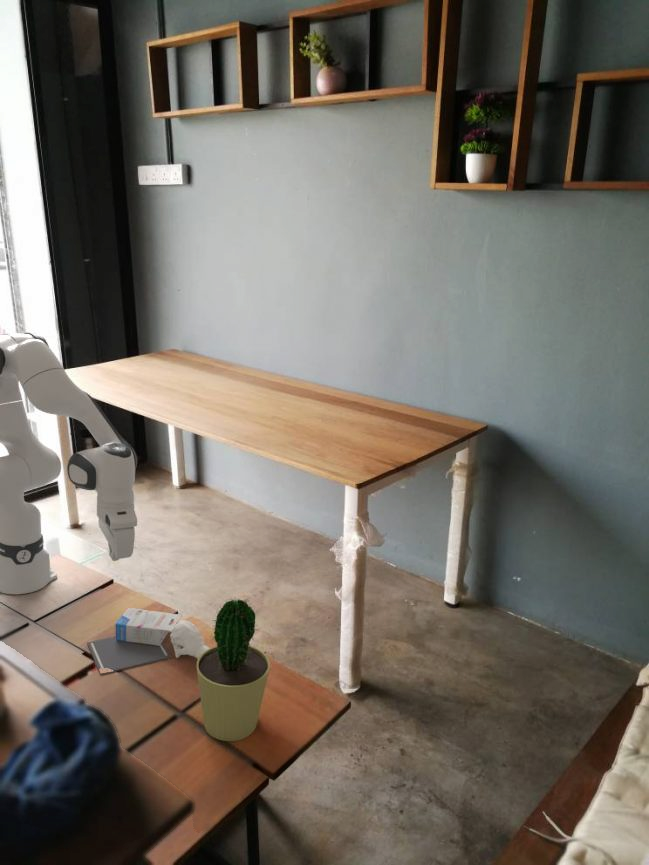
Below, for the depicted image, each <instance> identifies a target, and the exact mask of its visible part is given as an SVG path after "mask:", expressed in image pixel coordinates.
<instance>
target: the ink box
mask: <svg viewBox="0 0 649 865" xmlns="http://www.w3.org/2000/svg"><path fill="white" fill-rule="evenodd" d="M182 616H183V615H182V614H177V613H171V612H164V611H163V612H162V611H155V610H147V609H141V608H140V609H139V608H133V607H132V608H131V607H128V608H127V609H126V610H125V611H124V613H123V614H122V615H121V616H120V618H118V620H117V621H116V622H115V624H114V625H115V628H114V629H115V636H116V640H119V641H127V642H135V643H142V644H150V645H157V646H160V644H161V643H162V642H163V641H164V639H165V638H166V637H167V635H168V634H169V632H172V630H173V628H174V627H175V625H176V624H178V623H179V622H180V621H179V620H180V619H181V618H182Z"/></svg>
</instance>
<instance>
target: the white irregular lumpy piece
mask: <svg viewBox="0 0 649 865" xmlns="http://www.w3.org/2000/svg"><path fill="white" fill-rule="evenodd" d="M169 637H170V643H171V644H172V645H173V650H174V654H175V655H174V656H175V659H179V658H180V657H181V655H182V656H183V655H184V656H185V655H186V656H187V655H188V656H190V657H194V658H196V659H198V658H199V657H200V656H201V654H203V653H204V652H205V651H206V650H208V649H210V648H211V647H209V646H208V645H206V641H205V639H204V638H203V636H202V634H201V632H200V631H199V629H198V628H197V625H196V624H193V623H192V622H191V621H189V620H184V619H183V620H180V621H178V622H177V624H176V625H175V627H174V628H173V630H172V631H171V634H170V635H169ZM195 663H196V664H197V661H196V662H195Z"/></svg>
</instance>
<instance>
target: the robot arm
mask: <svg viewBox="0 0 649 865" xmlns="http://www.w3.org/2000/svg"><path fill="white" fill-rule="evenodd" d="M19 383H20V385H19ZM20 386H21V388H22V390H23V391H24V393H25V396H26V397H27V399H28V400H29V402H30V403H31V405H32V406H33V407H34V408H36V409H37V410H39V411H41V412H43V413H46V414H48V415H49V414H50V415H56V416H57V415H58V416H63V417H67V418H71V419H73V420H74V419H75V420H77V421H78V422H81V423H82V424H83V425H84V426H85V428H86V429H87V430H88V431H89V433H90V434H91V435H92V437H93V438H94V440H95V441H96V442H97V444H98V445H99V446H98V447H94V448H93V447H91V448H88V449H87V448H86V449H84V450H80V451H77V452H76V453H73V454H72V455H71V456H70V458H69V459H68V462H67V466H66V467H67V470H66V472H67V476H68V479H69V481H70V482H71V483H72V485H74V486H75V487H76V488H78V489H80V490H81V489H82V490H86V491H95V493H97V494H96V516H97V518H98V527H99V528H100V530H101V533H102V534H103V536H104V538H105V540H106V541H107V546H108V550H109V551H108V554H109V557H110V558H111V560H112V562H116V561H119V560H120V559H127V558H131V557H132V555H133V554H134V547H135V537H136V531H135V527H137V526H138V518H137V515H136V511H135V494H134V484H135V481H136V479H135V478H136V469H137V466H138V465H137V464H138V457H137V452H136V451H135V449H134V448H133V446H132V445H131V444H129V443H128V441H126V440H125V438H123V437H122V436H121V434H120V433H119V432H118V430H117V429H116V427H115V426H114V425H113V423H112V422H111V420H110V419H109V417H107V415H106V414H105V412H104V411H103V409H102V408H101V407H100V405H98V403H97V402H96V400H95V399H94V398H93V397H92V396H91V395H90V393H88V392H86V391H84V390H83V389H81V388H80V387H78V385H76V383H74V381H73V380H72V379H71V378H70V377H69V375H68V374H67V372H66V370H65V369H64V366H63V365H62V363H61V362H60V360H59V359H58V357H57V356H56V355H55V353H54V352H53V350H52V349H51V348H50V346H49V344H48V342H47V340H46V339H45V338H44V336H42V335H41V334H38V333H35V332H33V333H32V332H23V333H18V332H17V333H16V332H15V333H14V332H13V333H2V334H0V444H2V445H3V446H4V448H5V449H6V450H7V453H8V455H4V456H0V593H2V594H6V595H7V594H8V595H23V594H29V593H33V592H34V593H35V592H36V591H40V590H41V589H43V588H45V587H46V586H47V585H48V584H49V583H50V582H52V581H54V580H56V579H57V577H58V575H57V573H56V571H54V570H53V568H51V562H50V560H51V559H50V553H49V552H48V551H47V550H46V549H44V543H45V542H44V536H43V534H42V521H41V520H42V514H41V511H40V509H39V508H38V507H37V506H36V505H35V504H33V503H30V502H28V501H25V497H24V496H25V495H24V494H25V493H26V492H28V491H32V490H34V489H37V488H41V487H44V486H46V485H48V484H50V483H52V482H53V481H54V480H56V479H58V478H59V476H60V475H61V471H62V461H61V458H60V457H59V455H58V453H57V452H55V451H54V450H53V449H51V448H49V447H48V446H46V445H45V444H43V443H42V442H41V441H40V440H39V439H38V437H37V436H36V435H35V433H34V432H33V430H32V428H31V425H30V423H29V419H28V416H27V413H26V409H25V408H26V407H25V404H24V401H23V396H22V393H21V388H20Z"/></svg>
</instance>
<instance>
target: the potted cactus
mask: <svg viewBox="0 0 649 865" xmlns="http://www.w3.org/2000/svg"><path fill="white" fill-rule="evenodd" d="M247 601H248V600H247V599H244V600H243V599H242V600H241V597H239V598H238V599H237V598H232V597H230V598H229V600H227V601H225V602H223V603H224V604H222V606H221V605H220V604H218V605H219V607H220V609H219V608H218V607H217V606H216V605H215V606H216V608H217V611H218V612H217V613H216V614H217V615H215V619H213V620H212V621H213V622H214V623H215V624H213V627H214V628H213V633H212V634H211V636H210V638H212V639H211V640H212V641H213V640H214V641H215V643H216V645H214V646H212V647H209V648H210V649H208V650H206V651H205V652H204V653H203V654H201V656H200V657H199V658H197V661H196V670H197V671H196V672H197V679H198V680H197V681H198V688H199V696H200V703H201V711H202V712H201V713H202V719H203V725H204V728H205V731H206V733H207V734H209V735H210V736H211V737H212V738H213V739H216V740H220V741H225V742H236V741H240V740H243V739H245V738H247V737H249V736H251V734H253V733H254V731H256V730H255V729H256V727H257V725H258V720H259V715H260V712H261V708H262V702H263V698H264V694H265V689H266V686H267V681H268V676H269V671H270V670H271V661H270V659H269V657H268V655H267V654H266V653H265V652H264V651H262V650H261V649H259V648H257V647H255V646H252V644H251V643H250V642H252V640H253V642H255V641H256V640H255V639H254V638H253V637H254V634H256V633H255V632H256V631H259V629H255V628H256V627H259V624H256V621H257V620H256V614H258V611H259V610H260V609H258V610H257V611H256V612H255V609H254V606H250V605H252V603H250V602H249V603H248V602H247ZM249 604H250V605H249ZM212 635H213V636H212ZM211 640H210V641H211Z"/></svg>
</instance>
